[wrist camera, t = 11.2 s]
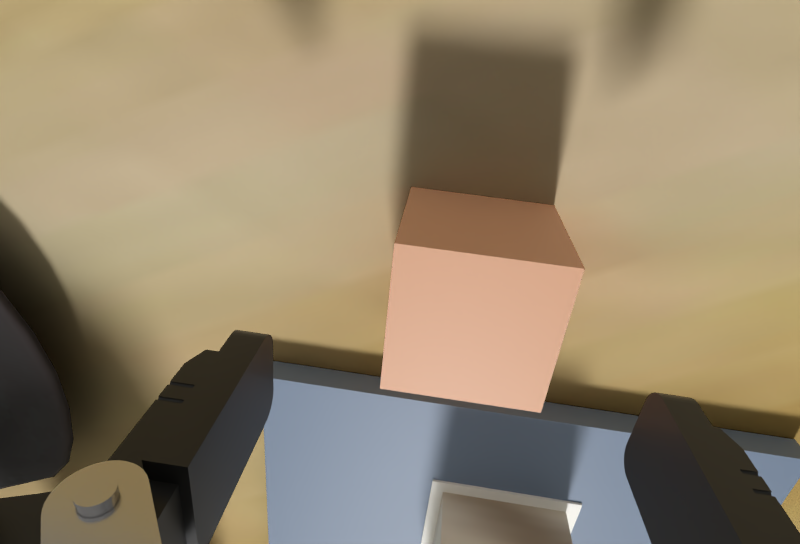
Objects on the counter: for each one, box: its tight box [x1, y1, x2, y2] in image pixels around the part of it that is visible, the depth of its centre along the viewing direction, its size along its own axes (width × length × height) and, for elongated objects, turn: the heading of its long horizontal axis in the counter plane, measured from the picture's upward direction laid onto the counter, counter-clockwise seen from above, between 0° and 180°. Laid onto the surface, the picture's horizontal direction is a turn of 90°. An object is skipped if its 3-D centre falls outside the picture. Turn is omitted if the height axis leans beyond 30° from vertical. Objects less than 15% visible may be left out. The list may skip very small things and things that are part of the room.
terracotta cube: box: [380, 187, 585, 413], centre depth 15 cm, size 4×4×4 cm
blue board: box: [264, 361, 800, 544], centre depth 22 cm, size 20×15×1 cm
